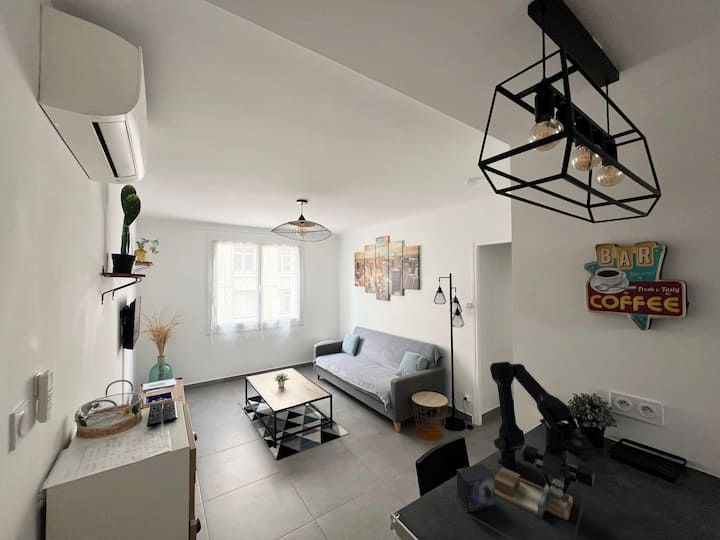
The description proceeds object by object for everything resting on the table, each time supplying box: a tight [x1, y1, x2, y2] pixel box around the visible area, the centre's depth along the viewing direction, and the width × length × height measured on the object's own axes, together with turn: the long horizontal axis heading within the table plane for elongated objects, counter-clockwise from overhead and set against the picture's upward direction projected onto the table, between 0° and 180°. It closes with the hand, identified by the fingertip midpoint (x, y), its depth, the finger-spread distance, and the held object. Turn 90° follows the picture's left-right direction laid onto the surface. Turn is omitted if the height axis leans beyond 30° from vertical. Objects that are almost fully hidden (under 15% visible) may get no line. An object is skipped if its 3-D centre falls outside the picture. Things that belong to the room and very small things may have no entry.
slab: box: [495, 466, 521, 497], centre depth 103 cm, size 8×6×4 cm
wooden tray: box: [495, 477, 574, 521], centre depth 98 cm, size 13×22×4 cm, turn 46°
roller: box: [549, 478, 564, 500], centre depth 95 cm, size 4×5×4 cm
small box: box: [456, 463, 496, 514], centre depth 97 cm, size 11×6×10 cm, turn 105°
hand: (557, 490), depth 95 cm, fingers closed on roller, 4 cm apart
